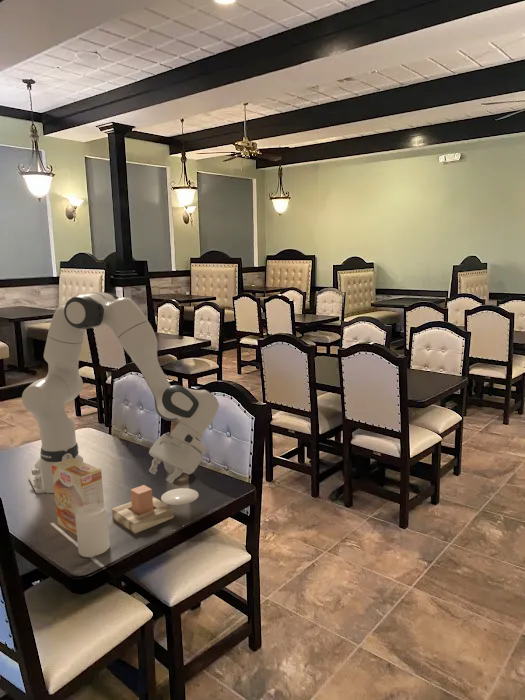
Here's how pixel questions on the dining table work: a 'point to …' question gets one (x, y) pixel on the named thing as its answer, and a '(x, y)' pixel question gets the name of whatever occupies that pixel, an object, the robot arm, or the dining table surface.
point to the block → (141, 500)
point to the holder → (142, 516)
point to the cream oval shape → (179, 496)
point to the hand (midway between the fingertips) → (159, 477)
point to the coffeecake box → (75, 489)
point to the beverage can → (92, 530)
